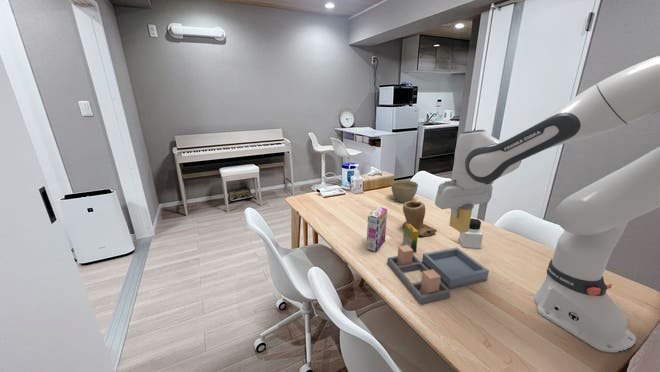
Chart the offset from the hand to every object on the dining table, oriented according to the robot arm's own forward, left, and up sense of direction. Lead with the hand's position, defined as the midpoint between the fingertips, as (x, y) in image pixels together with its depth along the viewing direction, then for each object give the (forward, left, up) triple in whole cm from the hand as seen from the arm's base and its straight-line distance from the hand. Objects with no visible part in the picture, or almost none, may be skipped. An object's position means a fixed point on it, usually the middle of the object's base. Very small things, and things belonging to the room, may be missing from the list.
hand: (460, 216), depth 93 cm
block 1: (+8, +16, -23) cm, 29 cm away
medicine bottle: (+14, -20, -23) cm, 34 cm away
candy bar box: (+25, +20, -23) cm, 39 cm away
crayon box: (+19, +7, -23) cm, 31 cm away
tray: (0, 0, -23) cm, 23 cm away
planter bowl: (+69, -19, -23) cm, 75 cm away
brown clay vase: (+31, -4, -23) cm, 39 cm away
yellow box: (0, 0, -5) cm, 5 cm away
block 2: (-8, +16, -23) cm, 29 cm away
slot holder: (0, +16, -23) cm, 27 cm away
